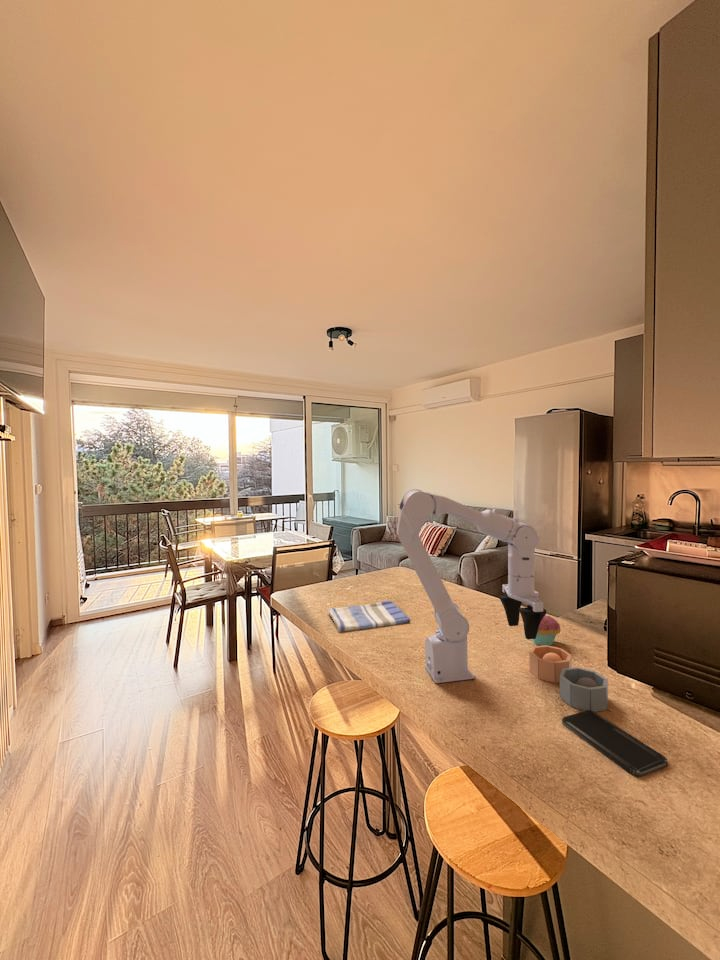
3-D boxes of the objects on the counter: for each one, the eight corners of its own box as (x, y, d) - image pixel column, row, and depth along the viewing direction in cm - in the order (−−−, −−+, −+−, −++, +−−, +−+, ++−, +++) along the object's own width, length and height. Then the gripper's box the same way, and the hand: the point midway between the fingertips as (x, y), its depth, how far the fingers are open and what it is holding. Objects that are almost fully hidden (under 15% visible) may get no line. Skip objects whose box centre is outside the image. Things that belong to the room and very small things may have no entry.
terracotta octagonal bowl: (544, 684, 91) (544, 664, 90) (523, 666, 99) (523, 647, 99) (579, 679, 92) (579, 660, 92) (555, 662, 100) (555, 644, 100)
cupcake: (540, 651, 106) (539, 605, 106) (519, 638, 115) (518, 595, 114) (567, 646, 109) (567, 601, 108) (545, 633, 117) (544, 592, 116)
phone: (636, 774, 63) (559, 718, 77) (636, 781, 63) (559, 724, 78) (671, 760, 66) (590, 708, 80) (671, 767, 66) (590, 714, 80)
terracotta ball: (547, 678, 93) (551, 664, 91) (536, 662, 97) (540, 649, 95) (564, 676, 94) (569, 662, 92) (553, 661, 98) (558, 647, 96)
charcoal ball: (580, 707, 82) (589, 696, 80) (568, 685, 86) (576, 674, 83) (599, 704, 83) (609, 693, 81) (586, 683, 87) (595, 672, 84)
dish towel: (326, 614, 139) (326, 606, 139) (393, 606, 144) (392, 598, 144) (336, 634, 122) (336, 625, 122) (411, 624, 128) (411, 616, 127)
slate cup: (579, 713, 80) (579, 691, 80) (552, 690, 88) (552, 669, 88) (617, 708, 81) (617, 686, 81) (587, 686, 89) (587, 665, 89)
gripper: (556, 581, 89) (556, 643, 90) (520, 565, 104) (521, 618, 104) (526, 583, 88) (526, 646, 89) (494, 567, 103) (494, 621, 103)
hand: (521, 631), depth 96 cm, fingers open, 7 cm apart
